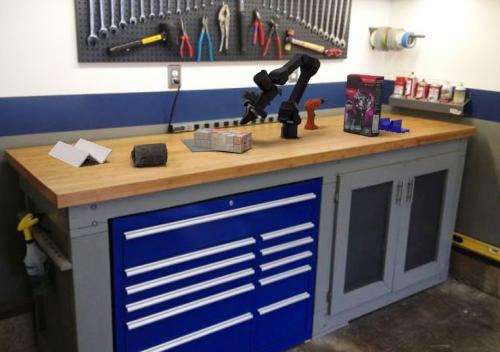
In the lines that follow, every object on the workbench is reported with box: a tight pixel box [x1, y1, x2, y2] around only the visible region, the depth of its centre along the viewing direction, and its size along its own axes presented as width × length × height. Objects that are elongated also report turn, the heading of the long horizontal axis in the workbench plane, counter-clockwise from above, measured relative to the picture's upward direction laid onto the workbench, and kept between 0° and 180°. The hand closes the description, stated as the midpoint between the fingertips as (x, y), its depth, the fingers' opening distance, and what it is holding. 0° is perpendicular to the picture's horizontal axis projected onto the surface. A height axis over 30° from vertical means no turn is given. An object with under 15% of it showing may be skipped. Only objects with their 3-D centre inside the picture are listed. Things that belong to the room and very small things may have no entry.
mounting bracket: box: [380, 116, 411, 134], centre depth 254 cm, size 18×7×6 cm, turn 39°
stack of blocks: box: [193, 127, 253, 154], centre depth 204 cm, size 21×6×12 cm
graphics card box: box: [342, 73, 385, 137], centre depth 239 cm, size 17×7×27 cm, turn 41°
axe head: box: [130, 142, 169, 167], centre depth 185 cm, size 26×8×15 cm
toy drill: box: [303, 98, 330, 131], centre depth 254 cm, size 5×19×15 cm, turn 135°
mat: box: [180, 138, 223, 153], centre depth 210 cm, size 14×24×1 cm, turn 18°
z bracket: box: [48, 138, 114, 169], centre depth 183 cm, size 12×25×6 cm
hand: (240, 124), depth 213 cm, fingers closed
